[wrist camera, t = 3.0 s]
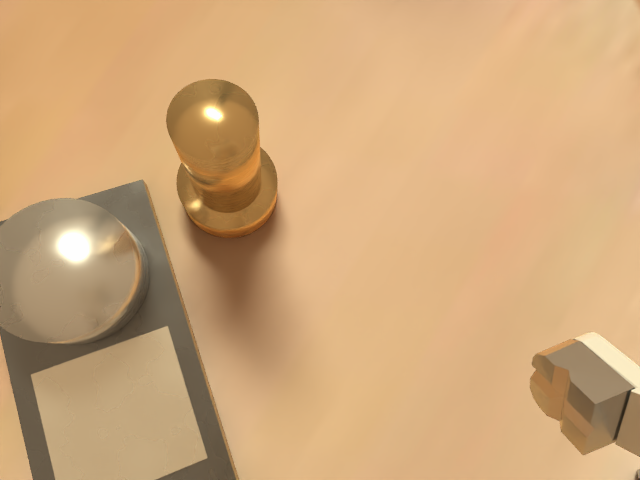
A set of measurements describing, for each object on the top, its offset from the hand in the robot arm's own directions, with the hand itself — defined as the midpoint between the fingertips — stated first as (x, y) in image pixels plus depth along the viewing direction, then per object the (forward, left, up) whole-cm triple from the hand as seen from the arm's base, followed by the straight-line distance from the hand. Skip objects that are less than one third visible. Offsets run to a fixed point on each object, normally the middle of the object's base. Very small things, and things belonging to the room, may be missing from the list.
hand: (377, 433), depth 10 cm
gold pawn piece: (+12, +1, -16) cm, 20 cm away
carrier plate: (+3, +10, -16) cm, 19 cm away
